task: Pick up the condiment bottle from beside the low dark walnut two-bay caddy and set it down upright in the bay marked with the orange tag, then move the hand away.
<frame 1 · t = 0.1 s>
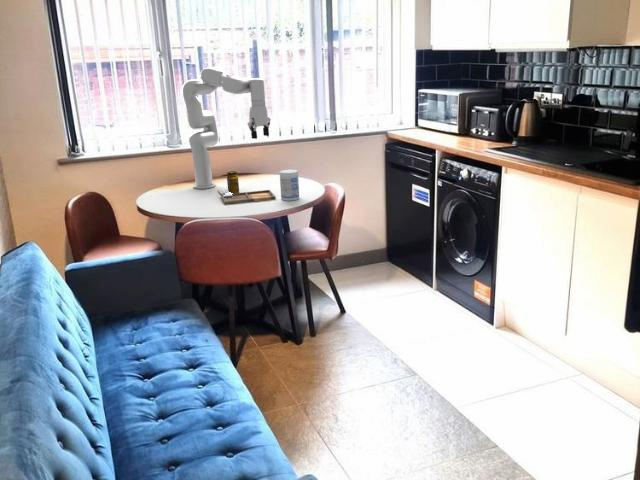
hand: (260, 137, 307), 31 cm above the table, tool pointing down, fingers open, 9 cm apart
supplement tub: (290, 199, 307), on the table
divided wooden tray: (248, 198, 312), on the table
condiment: (232, 194, 323), on the table
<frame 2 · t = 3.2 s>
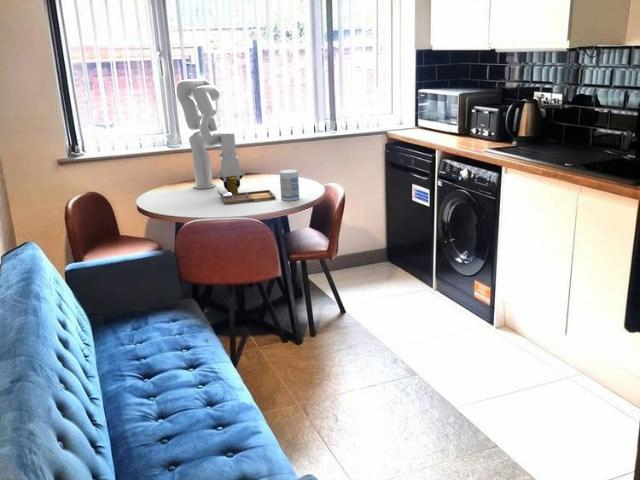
hand: (232, 187, 322), 3 cm above the table, tool pointing down, fingers closed on condiment, 6 cm apart
condiment: (231, 194, 323), on the table, touching gripper
everything else where it was.
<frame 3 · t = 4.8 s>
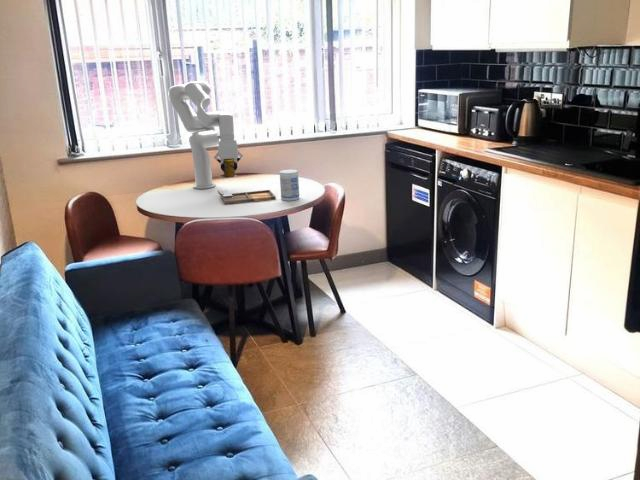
hand: (229, 170, 319), 13 cm above the table, tool pointing down, fingers closed on condiment, 6 cm apart
condiment: (228, 176, 321), point 9 cm above the table, touching gripper
everything else where it was.
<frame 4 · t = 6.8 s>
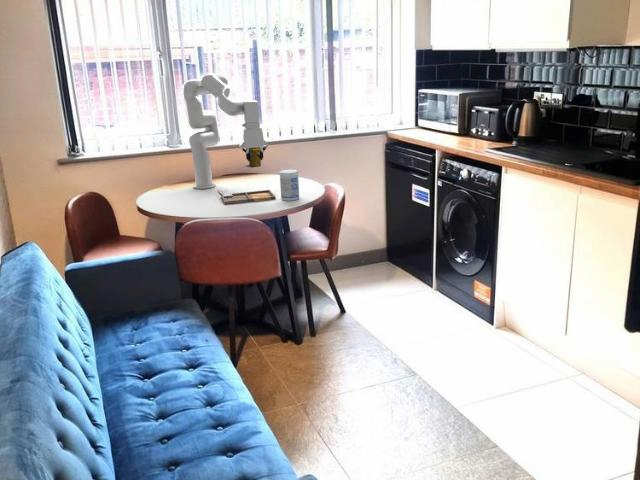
hand: (255, 159, 308), 20 cm above the table, tool pointing down, fingers closed on condiment, 6 cm apart
condiment: (253, 166, 309), point 16 cm above the table, touching gripper
everything else where it was.
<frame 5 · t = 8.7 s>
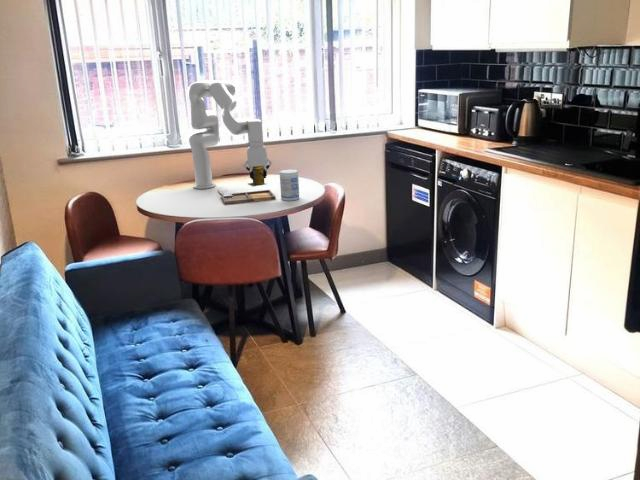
hand: (258, 178, 310), 10 cm above the table, tool pointing down, fingers closed on condiment, 6 cm apart
condiment: (257, 184, 311), point 7 cm above the table, touching gripper
everything else where it was.
when the fingers open (4 cm above the table, at t = 10.4 s): condiment stays where it is, resting on divided wooden tray.
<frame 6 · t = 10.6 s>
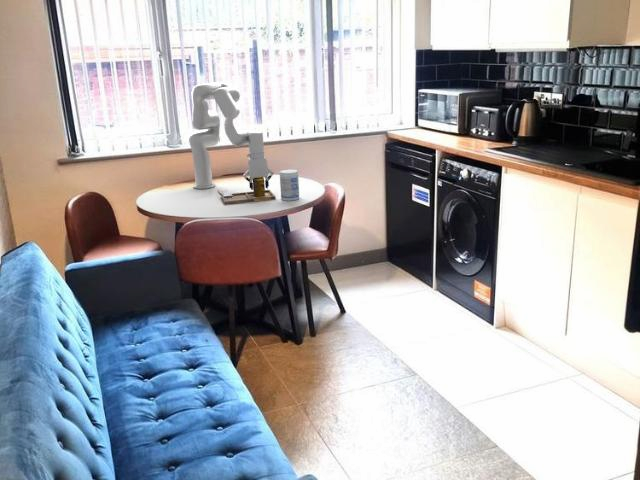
hand: (259, 188, 312), 5 cm above the table, tool pointing down, fingers open, 7 cm apart
condiment: (258, 196, 313), resting on divided wooden tray
everything else where it was.
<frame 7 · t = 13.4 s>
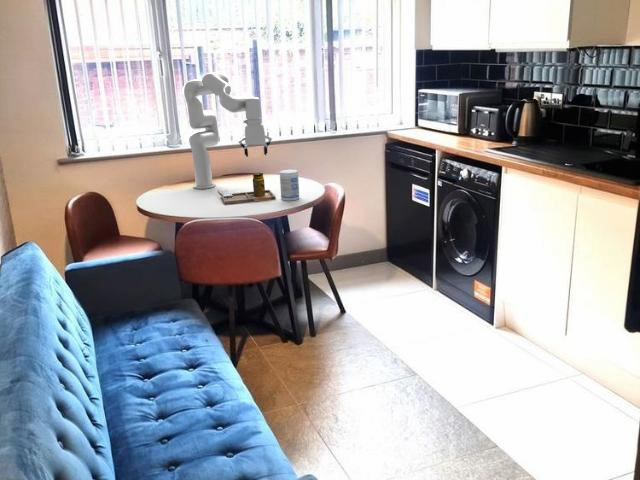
hand: (256, 155, 306), 22 cm above the table, tool pointing down, fingers open, 9 cm apart
nothing on the table moved.
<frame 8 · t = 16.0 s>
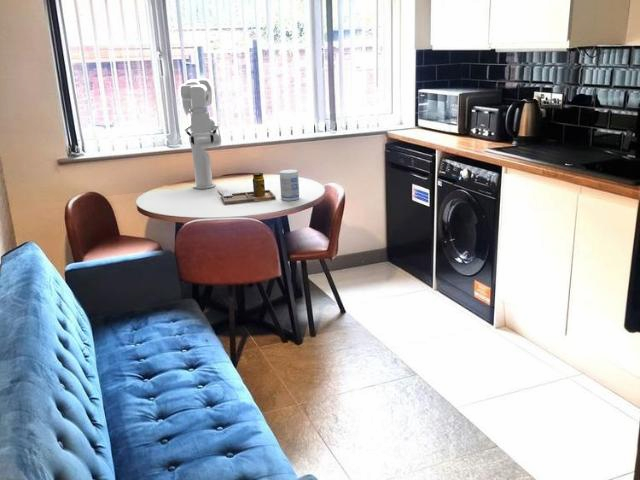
hand: (202, 143, 312), 28 cm above the table, tool pointing down, fingers open, 9 cm apart
nothing on the table moved.
at the end: condiment inside the target area on the divided wooden tray (1.1 cm from its centre), point 0.5 cm above the divided wooden tray's base; condiment tilted 0°; the gripper is holding nothing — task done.
